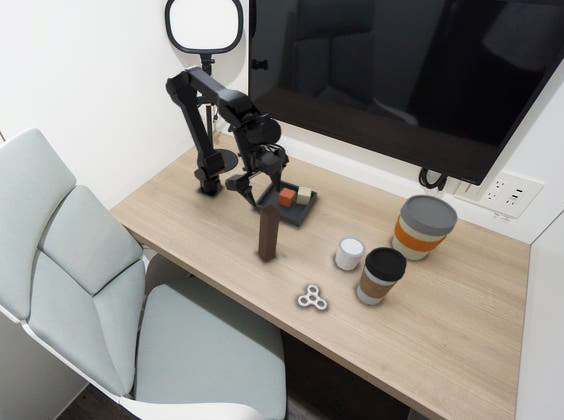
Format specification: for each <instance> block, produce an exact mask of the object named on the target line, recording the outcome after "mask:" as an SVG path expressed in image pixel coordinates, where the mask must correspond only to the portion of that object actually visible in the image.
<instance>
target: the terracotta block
mask: <svg viewBox="0 0 564 420" xmlns="http://www.w3.org/2000/svg"><path fill="white" fill-rule="evenodd" d="M295 193H296V192H295V191H292V190H290V189H287V188H284V189H283V190H282V192H281V193H280V194H279V202H278V204H281V205H283V206H286V207H289V208H290V206H291V205H292V203H293V202H294V199H295Z"/></svg>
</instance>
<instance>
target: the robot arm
mask: <svg viewBox="0 0 564 420" xmlns="http://www.w3.org/2000/svg"><path fill="white" fill-rule="evenodd" d="M164 86H165V91H166V93H167V94H168V95H169V97H170V100H171V102H172V103H174V104H175V105H176V106H177V107H179V108H180V110H181V113H182V115H183V117H184V120H185V123H186V125H187V129H188V131H189V133H190V135H191V138H192V140H193V143H194V146H195V148H196V151H197V157H196V165H197V169H196V170H194V171H193V175H194V178H195V179H196V180H197V181H199V186H200V187H199V188H198V189H197V192H199V193H201V194H203V195H206V196H209V197H211V198H213V197H215V196H216V195H217V194H218V193H219V192H220V191H221V190H222V189H223V185H222V181H221V179H220V175H221V174H223V173H224V171H225V170H226V162H225V160H224V158H223V157H224V156H223V154H222V152H221V151H217V150H216V149H215V148H214V147H213V146H212V145H213V144H212V141H211V139H210V136H209V135H208V134H209V133H208V132H207V128H206V126H205V124H204V120H203V118H202V115H201V113H200V110H199V107H198V105H197V97H198V93H200V94H201V95H202V96H203V97H205V98H206V99H207V100H209V101H210V102H211V103H212V104H213V105H215V107H216V108H217V109H216V110H217V114H218V115H219V116H220V118H222V119H223V120H224V121H225V122H226V123H227V124H229V126H228V129H227V132H228V133H232V135H233V137H234V141H235V143H236V146H237V149H238V152H237V153H236V154H237V157H238V158H241V160H242V164H243V167H241V169H242V172H245V173H243V174H242V173H241V174H239V173H238V174H237V173H236V174H235V173H234V175H231V176H230V177H228V178H226V179H225V181H224V187H225V189H226V191H231V192H237V193H238V194H240V196H241V197H243V198H244V199H245V201H246V202H247V203H248V204H249V205H250V206H251V207H252V208H253V209H254V208H256V200H255V196H254V194H253V192H252V189H253V185H250V184H251V179H253V178H255V177H257V176H258V175H260V174H262V173H263V174H265V175H266V176H268V177H269V179H270V181H271V183H272V184H273V186H274V188H275V190H276V191H277V192H280V187H281V180H282V174H283V171H284V170H285V168H287V166H288V163H290V158H289V156H288V154H287V153H286V152H285V151H284V148H281V147H277V148H276V149H274V150H273V151H270V152H268V150H267V147H265V146H269V145H271V146H272V145H276V144H277V143H278V142H279V141H280V140H281V137H282V127H281V124H279V122H278V121H277V120H276V119H274V118H272V117H271V114H270V113H266V114H264V112H263V111H262V109H261V108H259V106H258V105H256V103H255V102H254V101H253V100H252V99H251V97H250V96H249V95H248V94H246V93H245V92H243V91H240V90H237V89H231V88H228V87H225V85H223V84H222V83H220V82H219V81H218V80H216V79H215V78H213V77H212V76H211V75H209V74H208V73H207V72H205V71H203V69H202V67H201V66H200V65H193V66H190V67H187V68H184V69H183V70H182V71H180V72H179V73H177V74H176V75H173V76H170V77H168V78H167V79H166V82H165V85H164Z"/></svg>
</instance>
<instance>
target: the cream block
mask: <svg viewBox="0 0 564 420" xmlns="http://www.w3.org/2000/svg"><path fill="white" fill-rule="evenodd" d="M311 191H313V190H312V188H310V187H305V186H300V187H299V191H298V196H297V202H296V203H297V204H303V205H308V203H309V201H310V196H311Z"/></svg>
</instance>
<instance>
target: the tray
mask: <svg viewBox="0 0 564 420" xmlns="http://www.w3.org/2000/svg"><path fill="white" fill-rule="evenodd" d="M299 187H301V186H300V185H297V184H293V183H290V182H288V181H284V180H282V179H281V187H280V192H277V191H276V190H275V188H274V186H273V184H272V182H270V184H269V185H268V186H267V188H266V189H265V190H264V191H263V192H262V194H261V195H260V197H258V199H257V200H255V203H256V208H253V210H254V211H256V212H260V211H261V209H262V208H264V207H266V206H269V205H271V204H273V205H274V206H275V207H276V208H277V209H278V210H279V211H280V220H279V221H282V222H285V223H288V224H290V225H292V226H296V227H297V228H299V227H300V225H301V224H302V222H303V221H304V219H305V217H306V216H307V214H308V212H309V210H310V209H311V207H312V206H313V204H314V202H315V201H316V199H317V197H318V192H317V191H314V190H311V196H310V201H309V203H308V205H303V204H297V203H296V202H297V196H298V191H299ZM284 188H287V189H290V190H292V191H295V192H296V193H295V199H294V202H293V203H292V205H291V206H290V208H289V207H286V206H283V205H281V204H278V202H279V194H280V193H281V192H282V190H283V189H284Z"/></svg>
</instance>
